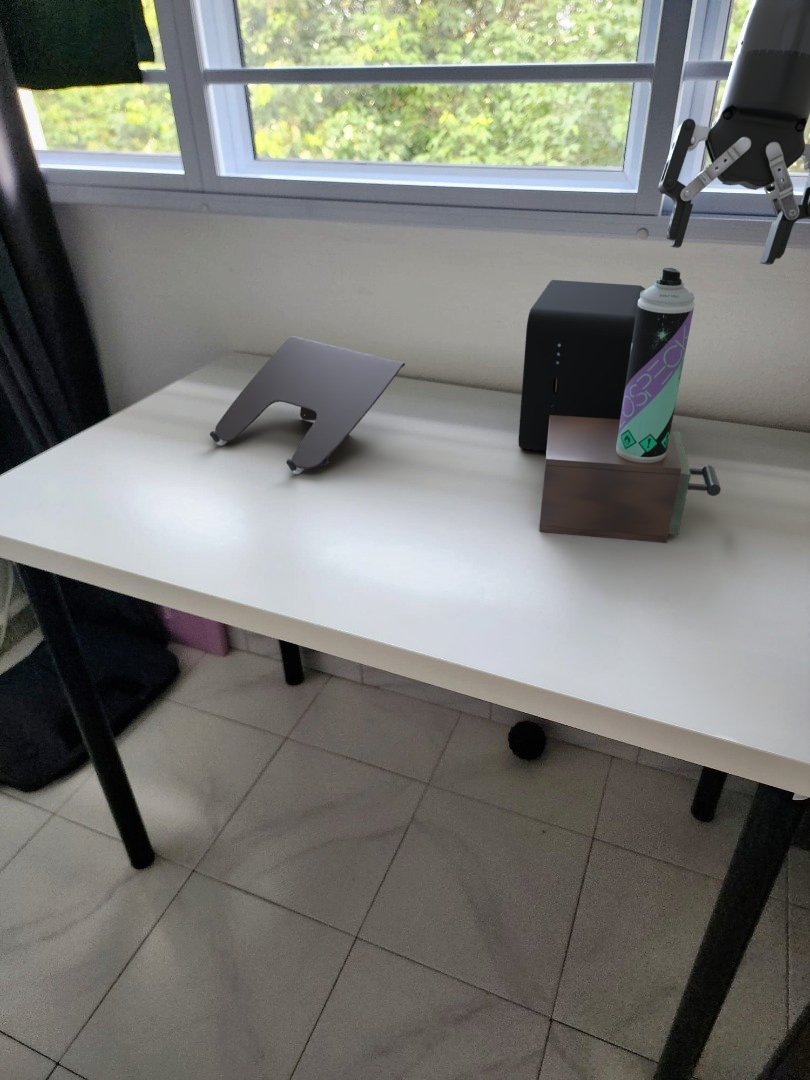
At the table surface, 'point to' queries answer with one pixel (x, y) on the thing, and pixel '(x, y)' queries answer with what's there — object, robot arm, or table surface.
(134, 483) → the table surface
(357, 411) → the laptop tray
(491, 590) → the table surface
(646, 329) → the spray can
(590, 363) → the black nas enclosure
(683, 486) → the drawer
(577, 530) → the cabinet
